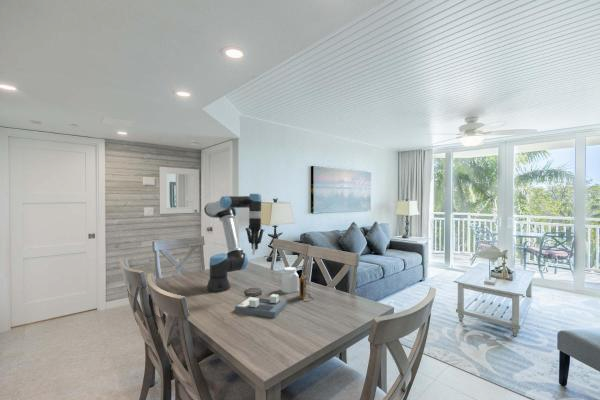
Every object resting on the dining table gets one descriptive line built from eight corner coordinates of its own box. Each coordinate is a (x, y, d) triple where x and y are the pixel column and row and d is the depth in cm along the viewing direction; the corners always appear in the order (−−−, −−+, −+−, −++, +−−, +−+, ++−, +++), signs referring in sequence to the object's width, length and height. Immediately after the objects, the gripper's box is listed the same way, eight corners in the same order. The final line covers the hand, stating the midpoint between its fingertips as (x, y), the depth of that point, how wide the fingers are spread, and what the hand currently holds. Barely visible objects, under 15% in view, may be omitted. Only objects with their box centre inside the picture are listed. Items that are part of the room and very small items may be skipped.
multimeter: (314, 302, 167) (314, 269, 167) (298, 301, 169) (298, 268, 169) (318, 294, 181) (318, 263, 181) (303, 293, 183) (303, 263, 183)
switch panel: (235, 311, 153) (235, 305, 153) (249, 301, 169) (249, 296, 169) (274, 317, 146) (274, 311, 146) (286, 306, 161) (286, 300, 161)
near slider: (249, 306, 152) (249, 300, 152) (252, 303, 156) (252, 297, 156) (255, 307, 151) (255, 300, 151) (259, 304, 155) (259, 298, 155)
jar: (293, 287, 196) (293, 265, 196) (301, 291, 188) (301, 268, 188) (279, 289, 190) (279, 268, 190) (286, 294, 182) (286, 271, 182)
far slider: (269, 302, 158) (269, 296, 158) (272, 300, 162) (272, 294, 162) (276, 303, 157) (276, 297, 157) (278, 300, 161) (278, 294, 161)
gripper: (243, 217, 177) (242, 254, 178) (261, 218, 172) (260, 256, 173) (249, 216, 184) (248, 252, 185) (266, 217, 179) (266, 253, 180)
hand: (254, 254), depth 179 cm, fingers closed
